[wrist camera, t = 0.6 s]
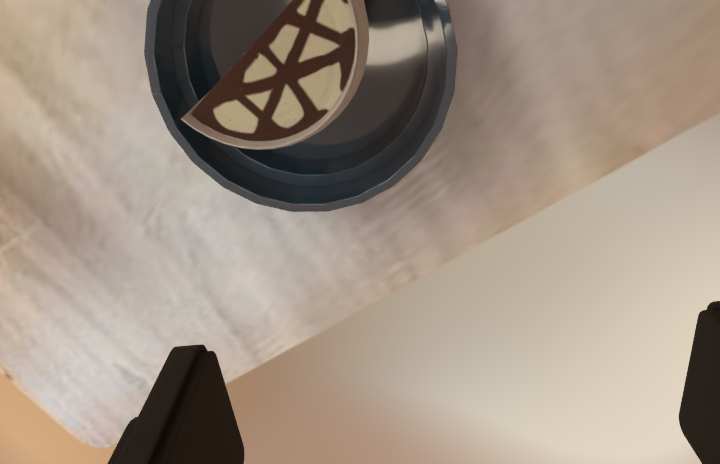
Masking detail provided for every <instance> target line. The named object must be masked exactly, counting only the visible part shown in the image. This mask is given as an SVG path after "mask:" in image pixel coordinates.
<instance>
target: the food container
mask: <svg viewBox="0 0 720 464" xmlns="http://www.w3.org/2000/svg"><path fill="white" fill-rule="evenodd" d="M368 47H369V28H368V18H367V13H366V8H365V3H364V0H292V1H291V2H290V3H289V4H288V5H287V6H286V8H285V9H284V10H283V11H282V12H281V13H280V15H279V16H278V17H277V18H276V19H275V20H274V21H272V22H271V23H270V25H269V26H268V28H267V29H266V30H265V31H264V32H263V34H262V35H261V36H260V37H259V38H258V39H257V40H256V41H255V42H254V43H252V44H251V45H250V47H249V49H248V50H247V51H246V52H245V53H244V55H243V56H242V57H241V58H240V59H239V60H238V61H236V62H235V65H233V66H232V67H230V70H229V71H228V72H227V73H226V74H225V75H224V76H223V77H222V78H221V80H220V81H219V82H218V83H217V84H215V85H214V87H213V88H212V89H211V90H210V91H209V92H208V93H207V94H206V95H205V96H204V97H203V98H202V99H201V100H200V101H199V102H198V103H197V104H196V105H195V106H194V107H193V108H192V109H191V110H190V111H189V112H188V113H187V114H185V115H184V116H183V117H182V118H181V120H182V121H184V122H185V123H186V124H188V125H189V126H190V127H192V128H193V129H195V130H196V131H198V132H200V133H202V134H203V135H205V136H207V137H209V138H211V139H214V140H216V141H219V142H221V143H224V144H227V145H231V146H235V147H239V148H245V149H255V150H263V149H276V148H281V147H286V146H290V145H293V144H295V143H298V142H301V141H303V140H305V139H307V138H309V137H311V136H312V135H314V134H316V133H318V132H319V131H321V130H322V129H324V128H325V127H326V126H328V125H329V124H330V123H331V122H332V121H334V120H335V119H336V118H337V117H338V116H339V115H340V114H341V112H342V111H343V110H344V109H345V108H346V107H347V106H348V104H349V102H350V101H351V99H352V98H353V96H354V94H355V93H356V91H357V89H358V86H359V84H360V82H361V79H362V77H363V74H364V70H365V66H366V62H367V58H368Z"/></svg>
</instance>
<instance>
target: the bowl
mask: <svg viewBox="0 0 720 464" xmlns="http://www.w3.org/2000/svg"><path fill="white" fill-rule="evenodd" d="M291 1H292V0H151V1H150V3H149V6H148V11H147V20H146V34H145V49H144V52H145V60H146V65H147V70H148V75H149V81H150V86H151V91H152V95H153V97H154V100H155V102H156V104H157V106H158V108H159V111H160V113H161V115H162V117H163V119H164V122H165V124H166V126H167V128H168V130H169V132H170V133H171V135H172V136H173V137H174V138H175V140H176V141H177V142H178V144H179V145H180V146H181V148H182V149H183V150H184V151H185V153H186V154H187V155H188V157H189V158H190V159H191V160H192V162H194V164H196V165H197V166H198V167H199V168H200V169H202V170H203V171H204V172H205V173H207V174H208V175H209V176H210V177H211V178H213V179H214V180H215V181H216V182H218V183H219V184H220V185H221V186H223V187H224V188H226V189H228V190H230V191H232V192H234V193H236V194H238V195H240V196H242V197H244V198H246V199H248V200H250V201H252V202H254V203H257V204H261V205H265V206H270V207H274V208H278V209H282V210H287V211H293V212H303V211H331V210H335V209H339V208H343V207H347V206H351V205H355V204H359V203H362V202H364V201H366V200H368V199H370V198H372V197H374V196H376V195H378V194H379V193H381V192H383V191H385V190H387V189H389V188H391V187H393V186H394V185H395V184H396V183H398V182H399V181H400V180H401V179H402V178H403V177H404V176H405V175H406V174H407V173H408V172H410V171H411V170H412V169H413V168H414V167H415V166H416V165H417V164H418V163H419V162H420V161H421V160H422V159H423V157H424V156H425V154H426V153H427V151H428V150H429V148H430V146H431V145H432V143H433V142H434V140H435V139H436V137H437V136H438V134H439V133H440V131H441V128H442V127H443V124H444V121H445V118H446V115H447V112H448V109H449V106H450V103H451V100H452V97H453V94H454V90H455V76H456V60H457V46H456V40H455V35H454V30H453V25H452V20H451V15H450V9H449V7H448V3H447V1H446V0H364V3H365V8H366V13H367V18H368V28H369V47H368V58H367V62H366V66H365V70H364V74H363V77H362V79H361V82H360V84H359V86H358V89H357V91H356V93H355V94H354V96H353V98H352V99H351V101H350V102H349V104H348V106H347V107H346V108H345V109H344V110H343V111H342V112H341V114H340V115H339V116H338V117H337V118H336V119H335V120H334V121H332V122H331V123H330V124H329V125H328V126H326V127H325V128H324V129H322V130H321V131H319V132H318V133H316V134H314V135H312V136H311V137H309V138H307V139H305V140H303V141H301V142H298V143H295V144H293V145H290V146H286V147H281V148H276V149H263V150H255V149H245V148H239V147H235V146H231V145H227V144H224V143H221V142H219V141H216V140H214V139H211V138H209V137H207V136H205V135H203V134H202V133H200V132H198V131H196V130H195V129H193V128H192V127H190V126H189V125H188V124H186V123H185V122H184V121H182V120H181V118H182V117H183V116H184V115H185V114H187V113H188V112H189V111H190V110H191V109H192V108H193V107H194V106H195V105H196V104H197V103H198V102H199V101H200V100H201V99H202V98H203V97H204V96H205V95H206V94H207V93H208V92H209V91H210V90H211V89H212V88H213V87H214V85H215V84H217V83H218V82H219V81H220V80H221V78H222V77H223V76H224V75H225V74H226V73H227V72H228V71H229V70H230V67H232V66H233V65H235V62H236V61H238V60H239V59H240V58H241V57H242V56H243V55H244V53H245V52H246V51H247V50H248V49H249V47H250V45H251V44H252V43H254V42H255V41H256V40H257V39H258V38H259V37H260V36H261V35H262V34H263V32H264V31H265V30H266V29H267V28H268V26H269V25H270V23H271V22H272V21H274V20H275V19H276V18H277V17H278V16H279V15H280V13H281V12H282V11H283V10H284V9H285V8H286V6H287V5H288V4H289V3H290V2H291Z"/></svg>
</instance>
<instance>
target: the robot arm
mask: <svg viewBox="0 0 720 464" xmlns="http://www.w3.org/2000/svg"><path fill="white" fill-rule="evenodd" d="M679 421H680V426H681V429H682V432H683V434H684V436H685V437H686V439H687V440H688V442H689V444H690V445H691V447H692V448H693V450H694V451H695V453H696V455H697V456H698V458H699V459H700V461H701V462H702V464H720V301H716V302H712V303H710V304H709V305H708V307H707V310H704V311H702V312H700V313H699V316H698V320H697V325H696V330H695V335H694V341H693V346H692V351H691V356H690V362H689V366H688V371H687V376H686V381H685V387H684V392H683V397H682V402H681V407H680V412H679ZM243 462H244V446H243V442H242V439H241V436H240V432H239V429H238V426H237V422H236V419H235V416H234V412H233V409H232V406H231V403H230V400H229V396H228V393H227V389H226V386H225V383H224V379H223V376H222V373H221V369H220V366H219V363H218V360H217V356H216V354H215V353H214V351H207V349H206V347H205V346H204V345H191V346H179V347H174V348H173V349H172V350H171V352H170V354H169V356H168V358H167V360H166V362H165V364H164V366H163V368H162V370H161V372H160V374H159V376H158V378H157V380H156V382H155V384H154V386H153V388H152V390H151V392H150V394H149V396H148V398H147V400H146V402H145V404H144V406H143V408H142V410H141V412H140V414H139V416H138V417H135V418H134V419H133V420H131V421H130V423H129V424H128V426H127V427H126V429H125V431H124V433H123V435H122V437H121V439H120V441H119V442H118V444H117V447H116V449H115V450H114V452H113V454H112V456H111V458H110V460H109V462H108V464H243Z"/></svg>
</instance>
